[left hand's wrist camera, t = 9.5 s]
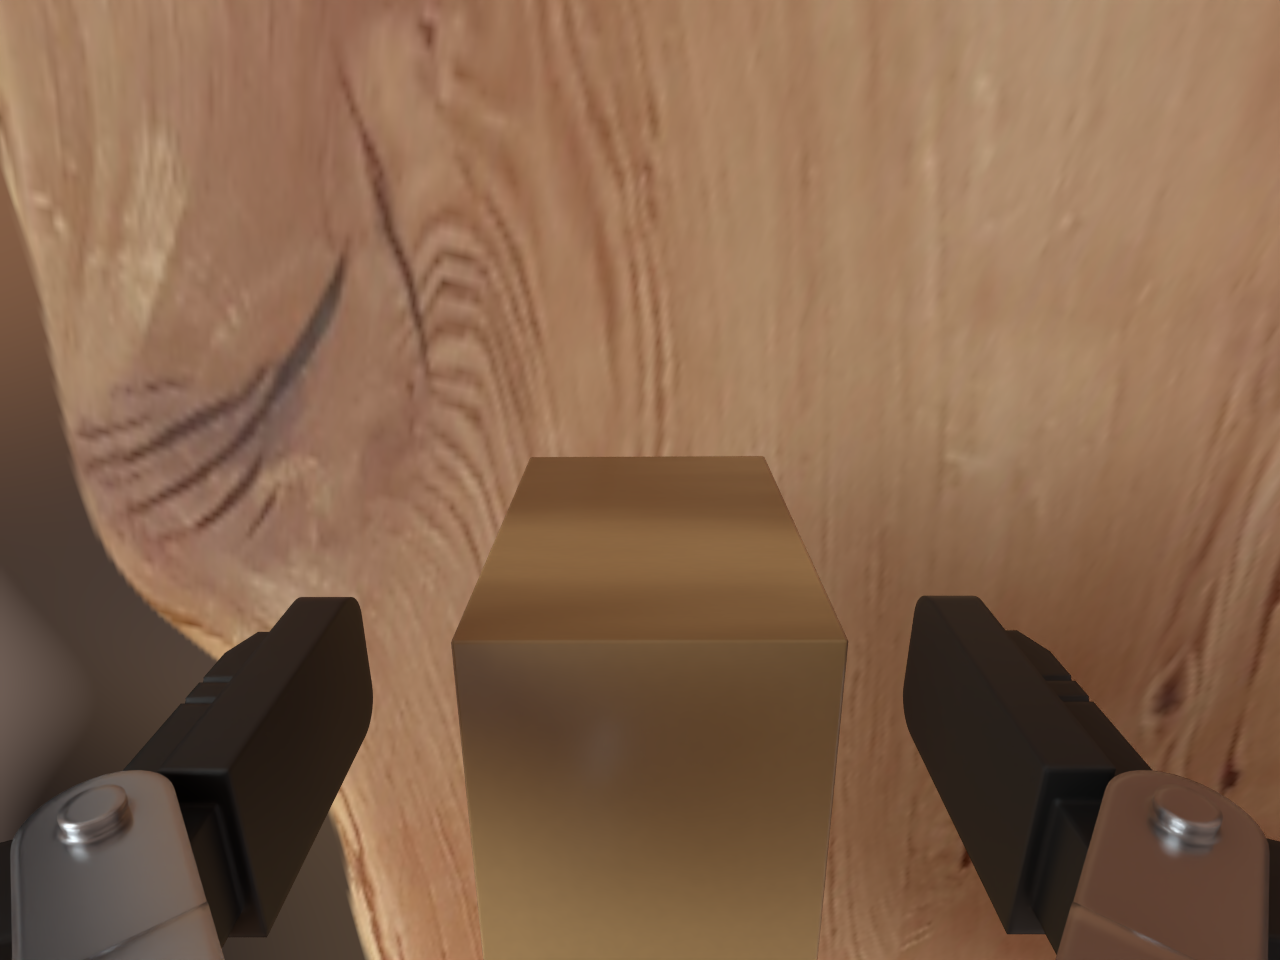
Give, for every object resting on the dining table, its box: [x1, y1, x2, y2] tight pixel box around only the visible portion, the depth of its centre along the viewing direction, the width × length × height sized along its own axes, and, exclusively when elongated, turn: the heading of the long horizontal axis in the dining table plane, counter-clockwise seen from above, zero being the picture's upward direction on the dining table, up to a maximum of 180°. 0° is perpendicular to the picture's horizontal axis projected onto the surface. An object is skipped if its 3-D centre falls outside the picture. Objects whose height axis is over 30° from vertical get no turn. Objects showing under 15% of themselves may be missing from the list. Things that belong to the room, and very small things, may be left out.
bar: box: [451, 456, 848, 960], centre depth 20 cm, size 22×6×9 cm, turn 0°
